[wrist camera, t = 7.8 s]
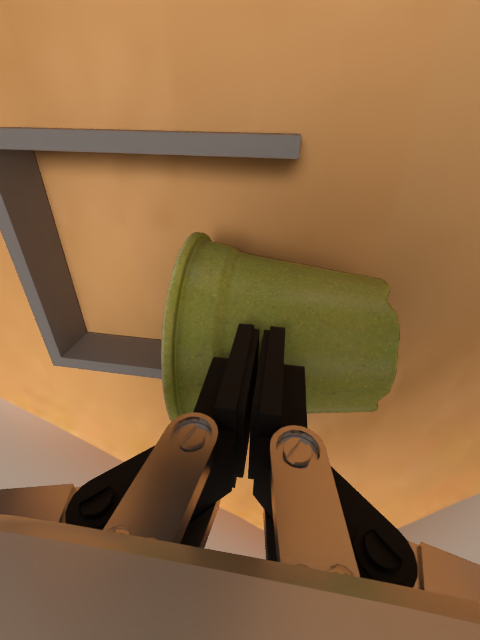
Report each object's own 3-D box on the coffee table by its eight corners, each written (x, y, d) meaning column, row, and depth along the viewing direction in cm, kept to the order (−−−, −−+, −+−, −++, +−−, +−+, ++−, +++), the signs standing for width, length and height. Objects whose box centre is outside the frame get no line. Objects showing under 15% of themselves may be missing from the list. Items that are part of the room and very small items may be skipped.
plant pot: (410, 507, 10) (151, 470, 11) (344, 412, 19) (207, 397, 20) (440, 213, 10) (170, 201, 11) (358, 261, 19) (218, 253, 20)
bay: (300, 134, 14) (301, 135, 12) (276, 361, 22) (273, 392, 19) (12, 127, 16) (-40, 127, 14) (79, 339, 23) (53, 365, 21)
